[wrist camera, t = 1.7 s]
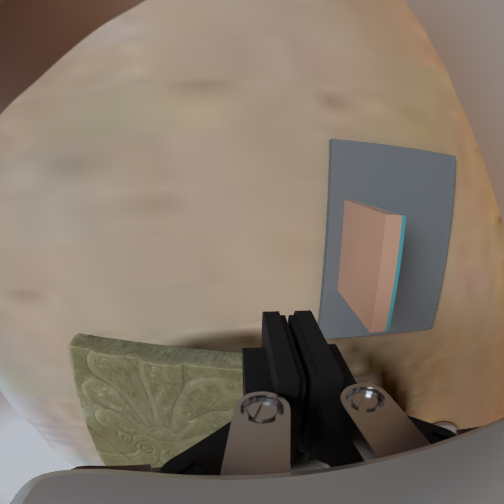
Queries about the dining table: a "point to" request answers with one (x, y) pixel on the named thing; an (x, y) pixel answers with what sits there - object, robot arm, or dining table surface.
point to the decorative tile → (152, 396)
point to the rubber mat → (415, 237)
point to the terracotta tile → (370, 261)
